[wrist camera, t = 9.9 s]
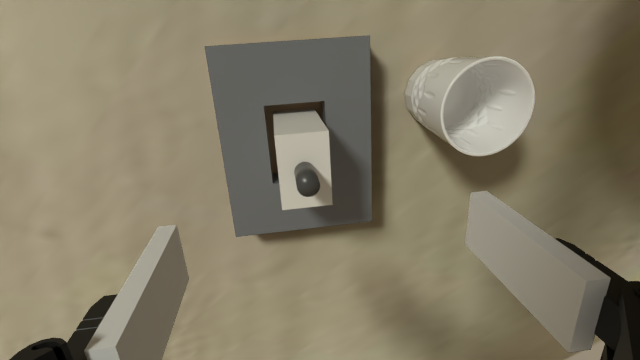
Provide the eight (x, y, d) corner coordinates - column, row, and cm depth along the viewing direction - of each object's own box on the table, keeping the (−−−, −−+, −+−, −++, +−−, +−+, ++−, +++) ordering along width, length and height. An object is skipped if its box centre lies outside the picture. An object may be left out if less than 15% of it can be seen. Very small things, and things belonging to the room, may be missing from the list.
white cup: (457, 38, 37) (521, 37, 27) (480, 108, 39) (545, 128, 30) (387, 76, 37) (426, 87, 28) (415, 142, 40) (459, 172, 31)
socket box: (211, 45, 34) (204, 46, 30) (359, 36, 35) (370, 35, 32) (239, 219, 40) (235, 236, 37) (362, 205, 42) (372, 221, 38)
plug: (273, 111, 36) (274, 146, 24) (313, 108, 36) (335, 141, 24) (279, 169, 38) (283, 228, 26) (317, 165, 38) (339, 221, 26)
